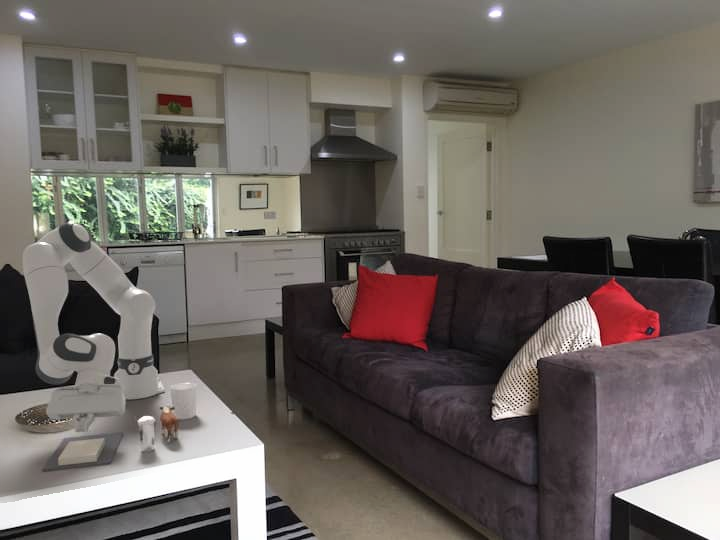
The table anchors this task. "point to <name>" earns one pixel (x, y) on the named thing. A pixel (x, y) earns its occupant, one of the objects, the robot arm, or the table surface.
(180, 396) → the white cup
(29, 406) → the table surface
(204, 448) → the table surface
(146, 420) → the milkshake
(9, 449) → the table surface
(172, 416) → the bull figurine
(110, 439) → the mat
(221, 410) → the table surface
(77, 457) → the tile
